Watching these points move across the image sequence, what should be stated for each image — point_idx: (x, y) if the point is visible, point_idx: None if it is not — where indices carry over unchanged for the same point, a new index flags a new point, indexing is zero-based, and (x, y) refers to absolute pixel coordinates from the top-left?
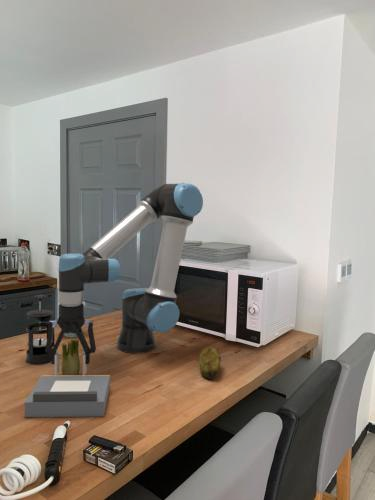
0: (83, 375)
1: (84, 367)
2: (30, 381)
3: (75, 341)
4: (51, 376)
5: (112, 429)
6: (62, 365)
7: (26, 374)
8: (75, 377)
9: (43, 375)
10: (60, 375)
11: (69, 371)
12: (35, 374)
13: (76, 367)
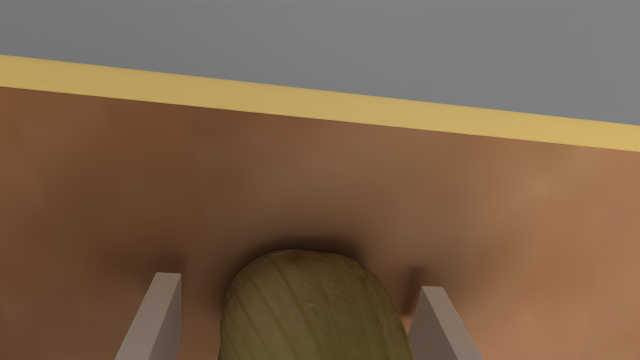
0: (78, 85)
1: (135, 333)
2: (614, 240)
3: None
4: (541, 93)
5: None
6: (405, 340)
7: (621, 345)
8: (189, 9)
9: (627, 146)
10: (419, 120)
11: (310, 287)
12: (562, 343)
13: (236, 341)
